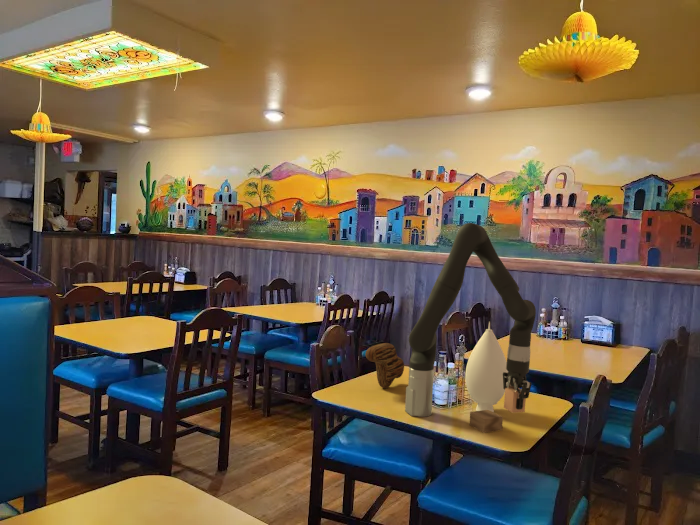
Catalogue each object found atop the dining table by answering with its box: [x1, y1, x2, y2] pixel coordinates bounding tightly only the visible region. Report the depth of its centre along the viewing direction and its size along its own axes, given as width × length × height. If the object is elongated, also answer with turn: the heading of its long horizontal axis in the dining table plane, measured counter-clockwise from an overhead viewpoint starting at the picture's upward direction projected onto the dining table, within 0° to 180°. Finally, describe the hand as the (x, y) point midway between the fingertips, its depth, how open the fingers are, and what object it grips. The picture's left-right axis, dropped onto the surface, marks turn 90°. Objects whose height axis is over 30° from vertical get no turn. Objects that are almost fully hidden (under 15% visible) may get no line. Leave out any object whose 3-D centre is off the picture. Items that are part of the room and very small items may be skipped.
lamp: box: [464, 321, 509, 413], centre depth 213 cm, size 16×16×35 cm
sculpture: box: [364, 342, 405, 389], centre depth 238 cm, size 26×8×20 cm, turn 145°
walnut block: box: [469, 410, 504, 434], centre depth 194 cm, size 8×8×5 cm
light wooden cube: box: [503, 388, 527, 413], centre depth 189 cm, size 5×5×7 cm
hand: (514, 406), depth 189 cm, fingers closed on light wooden cube, 5 cm apart
